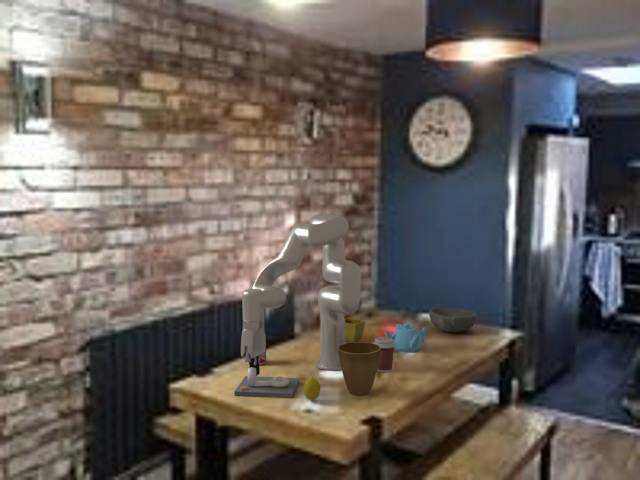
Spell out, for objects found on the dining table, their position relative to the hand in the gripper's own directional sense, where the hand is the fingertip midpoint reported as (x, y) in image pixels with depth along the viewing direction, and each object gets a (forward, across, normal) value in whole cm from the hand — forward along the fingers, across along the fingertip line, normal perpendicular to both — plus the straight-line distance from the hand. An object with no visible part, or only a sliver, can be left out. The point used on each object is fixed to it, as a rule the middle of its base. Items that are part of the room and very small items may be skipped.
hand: (254, 374), depth 244 cm
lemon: (+5, +5, +25) cm, 26 cm away
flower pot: (+6, -73, +8) cm, 74 cm away
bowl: (+6, -109, +45) cm, 118 cm away
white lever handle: (+3, +1, +6) cm, 7 cm away
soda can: (+5, -25, -13) cm, 29 cm away
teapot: (+6, -71, +34) cm, 79 cm away
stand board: (+4, 0, +5) cm, 7 cm away
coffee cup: (+5, -39, +35) cm, 52 cm away
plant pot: (+5, -10, +36) cm, 37 cm away
